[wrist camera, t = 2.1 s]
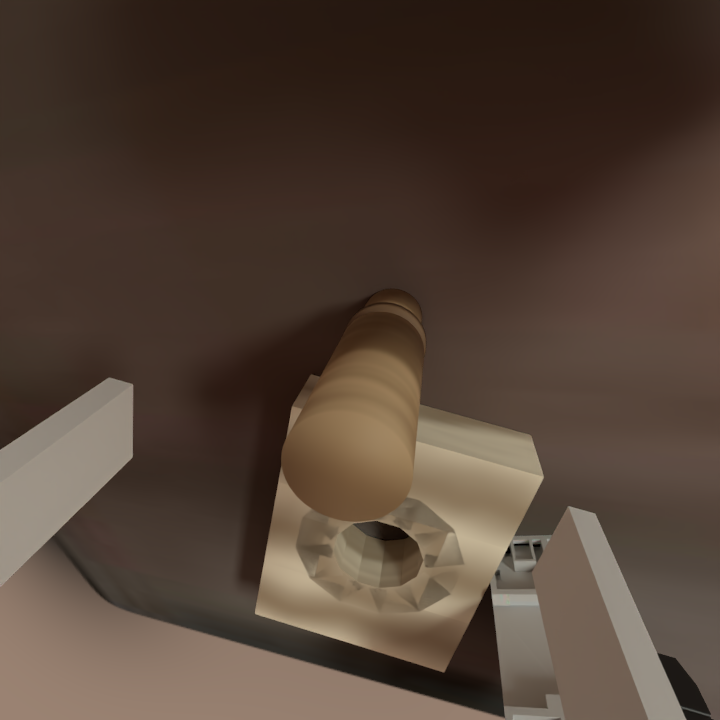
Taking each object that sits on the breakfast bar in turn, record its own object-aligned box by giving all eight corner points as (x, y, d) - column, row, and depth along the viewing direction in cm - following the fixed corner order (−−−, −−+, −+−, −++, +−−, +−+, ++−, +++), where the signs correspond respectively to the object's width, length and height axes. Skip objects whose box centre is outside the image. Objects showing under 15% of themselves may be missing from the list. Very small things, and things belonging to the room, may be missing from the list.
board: (310, 374, 29) (291, 406, 25) (530, 435, 28) (543, 477, 24) (273, 568, 36) (254, 613, 33) (443, 620, 36) (444, 672, 32)
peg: (365, 274, 25) (290, 393, 13) (437, 293, 25) (431, 433, 13) (350, 340, 27) (271, 501, 15) (417, 358, 27) (394, 538, 14)
